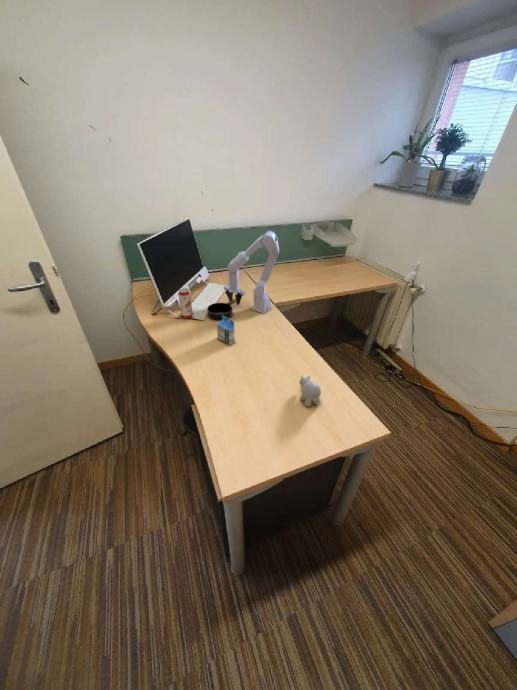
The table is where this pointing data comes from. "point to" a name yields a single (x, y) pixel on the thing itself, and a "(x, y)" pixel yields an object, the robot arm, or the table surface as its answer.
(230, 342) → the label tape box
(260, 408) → the table surface
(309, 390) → the chubby cartoon animal
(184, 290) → the beer can
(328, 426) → the table surface
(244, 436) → the table surface
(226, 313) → the pan
